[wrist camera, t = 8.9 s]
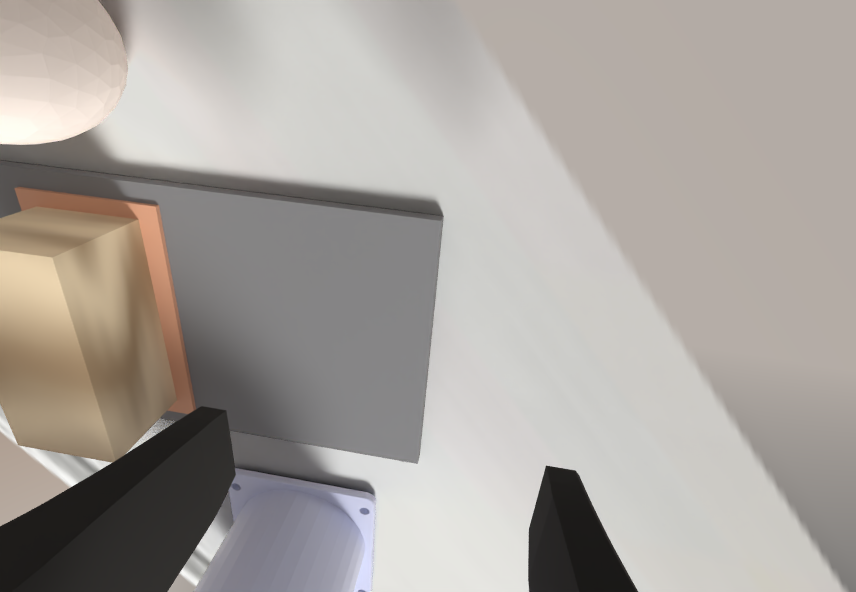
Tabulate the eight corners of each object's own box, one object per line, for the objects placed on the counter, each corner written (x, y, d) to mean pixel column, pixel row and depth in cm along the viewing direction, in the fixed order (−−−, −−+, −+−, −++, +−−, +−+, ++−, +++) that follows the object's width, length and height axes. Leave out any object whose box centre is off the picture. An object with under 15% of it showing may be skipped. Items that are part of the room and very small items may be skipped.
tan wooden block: (36, 206, 19) (-71, 240, 16) (138, 219, 19) (52, 257, 15) (92, 385, 23) (18, 445, 20) (177, 400, 23) (116, 463, 19)
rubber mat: (419, 454, 23) (417, 463, 23) (44, 388, 25) (34, 395, 25) (443, 215, 18) (441, 221, 17) (-40, 155, 20) (-56, 157, 19)
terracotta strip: (196, 412, 23) (194, 415, 23) (83, 392, 24) (80, 395, 24) (158, 205, 19) (155, 206, 18) (18, 186, 19) (14, 188, 19)
